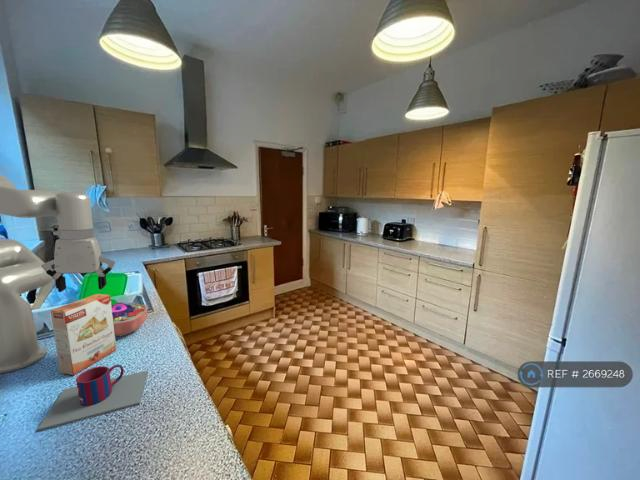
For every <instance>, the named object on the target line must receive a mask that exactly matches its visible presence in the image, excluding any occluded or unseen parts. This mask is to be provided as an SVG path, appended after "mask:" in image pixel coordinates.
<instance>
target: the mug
mask: <svg viewBox="0 0 640 480" xmlns="http://www.w3.org/2000/svg"><path fill="white" fill-rule="evenodd" d="M116 368H120V374H119V375H118V376H117V377H118V378H117V377H116V378H117V379H116V380H115V381H114V382H112V383H111V379H112V378H111V372H112V371H113V370H114V369H116ZM122 376H124V367H123V365H120V364H115V365H113V366H111V367H108V366H105V365H103V366H102V365H99V366H95V367H91V368H90V369H85V371H83V372H81V373H80V374H79V375H78V376H77V377H76V379H75V383H76V387H77V389H78V395H79V401H80V404H81V405H83V406H90V405H94V404H97V403H99V402H101V401H103V400H105V399H106V398H107V397H109V395H110V394H111V392H112V386H113V385H114V384H116V383H117V382H118V381H119V380H120V379H121V378H122Z"/></svg>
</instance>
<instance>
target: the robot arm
mask: <svg viewBox="0 0 640 480" xmlns="http://www.w3.org/2000/svg"><path fill="white" fill-rule="evenodd" d="M0 215H5V216H10V217H15V218H23V219H30V218H41V217H42V218H43V217H56V216H57V226H58V229H57V230H52V231H53V232H52V234H53V236H57V237H58V238H59V239H56V240H55V245H54V253H53V254H54V256H53V257H54V259H52V260H49V261H47V262H44V261H43V259H41V258H40V257H38V256H37V255H36V254H35V252H33V251H32V250H31V249H30V248H29V247H27V246H26V245H25V244H23V243H22V242H20V241H18V240H16V239H11V238H0V374H5V373H10V372H14V371H17V370H21V369H24V368H27V367H30V366H31V365H34V364H35V363H37V362H39V361H41V360H43V358H45V356H47V349H46V348H45V347H41V346H39V341H38V335H37V330H36V325H35V324H36V323H35V320H34V319H35V318H34V314H33V313H34V312H33V309H32V306H31V304H30V303H29V302H28V301H27V300H25V298H23V297H22V296H21V295H22V294H25V293H27V292H30V291H34V290H36V289H40V288H41V287H45V286H47V285H49V283H50V282H51V281H52V279H53V280H54V281H55V282H54V283H55V288H56V289H57V292H58V293H62V292H64V291H65V290H67V281H66V276H65V274H85V273H87V274H89V273H95V274H97V275H98V277H97V284H98V290H103V289H104V288H105V287H106V286H107V274H109V272H111V271H112V270H113V268H114V266H115V265H116V263H117V262H116V261H115V260H113V259H109V258H106V257H104V256H103V255H102V252H101V247H100V244H99V241H98V239H97V238H96V237H95V234H94V225H93V223H94V222H93V215H92V201H91V197H90V195H88V193H83V192H69V191H68V192H67V191H62V190H55V189H54V190H51V189H49V190H48V189H47V190H45V189H17V187H16V185H15V184H14V183H13V182H11V180H9V179H8V178H7V177H6V176H4V175H3V174H0ZM103 263H104V264H106V265H107V267H106V268H104V267H103ZM53 265H54V268H52V266H53Z"/></svg>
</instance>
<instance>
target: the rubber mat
mask: <svg viewBox="0 0 640 480" xmlns="http://www.w3.org/2000/svg"><path fill="white" fill-rule="evenodd" d="M148 374H149V370H144V371H140V372H135V373H131V374H125V375H123V376H122V378H121V379H120V380H119V381H118V382H117V383H116V384H114V385H113V386H112V392H111V394H110V395H109V397H107V398H106V399H105V400H103V401H101V402H99V403H97V404H94V405H90V406H83V405H81V404H80V401H79V395H78V389H77V386H73V387H69V388H64V389H63V390H62V391H61V393H60V394H59V396H58V397H57V399H56V401H55V402H54V404H53V405H52V407H51V408H50V409H49V411H48V413H47V414H46V416H45V417H44V419H43V420H42V422H41V423H40V425H39V427H38V428H37V432H38V433H39V432H42V431H45V430H49V429H53V428H56V427H60V426H65V425H68V424H72V423H75V422H79V421H84V420H87V419H90V418H95V417H99V416H103V415H105V414H109V413H112V412H116V411H120V410H124V409H128V408H131V407H134V406H138V405H141V401H142V398H143V392H144V389H145V386H146V385H145V384H146V381H147V377H148ZM118 377H119V376H117V377H113V378H110V379H111V383H112V382H114V381H115V380H116V379H117V378H118Z"/></svg>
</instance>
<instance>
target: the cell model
mask: <svg viewBox="0 0 640 480" xmlns="http://www.w3.org/2000/svg"><path fill="white" fill-rule="evenodd" d="M111 307H112V316H113V325H114V334H115V336H117V337H119V336H120V337H121V336H122V337H123V336H126V335H128V334H131V333H133V332H136V331H138V330H139V329H141V327H142V325H143V324H144V322H145V321H146V320H147V319H148V316H149V315H148V309H147V305H144V304H139V303H134V302H132V303H131V302H130V303H125V302H115V303H114V304H111Z"/></svg>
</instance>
